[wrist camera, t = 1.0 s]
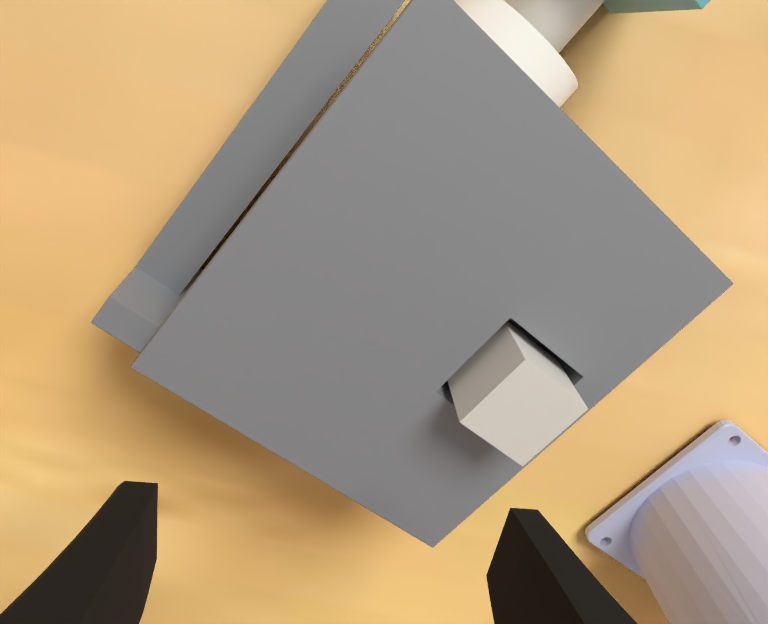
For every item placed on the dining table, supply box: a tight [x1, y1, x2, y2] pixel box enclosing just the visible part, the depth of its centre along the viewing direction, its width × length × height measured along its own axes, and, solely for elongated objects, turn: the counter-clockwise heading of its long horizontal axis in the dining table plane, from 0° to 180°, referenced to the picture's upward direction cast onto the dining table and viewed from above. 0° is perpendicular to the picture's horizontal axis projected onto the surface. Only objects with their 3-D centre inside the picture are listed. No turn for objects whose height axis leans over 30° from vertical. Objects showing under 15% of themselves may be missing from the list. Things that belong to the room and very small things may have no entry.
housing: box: [91, 0, 733, 548], centre depth 18 cm, size 12×12×5 cm
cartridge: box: [454, 0, 710, 108], centre depth 16 cm, size 4×16×5 cm, turn 140°
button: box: [447, 321, 588, 466], centre depth 17 cm, size 2×2×2 cm
